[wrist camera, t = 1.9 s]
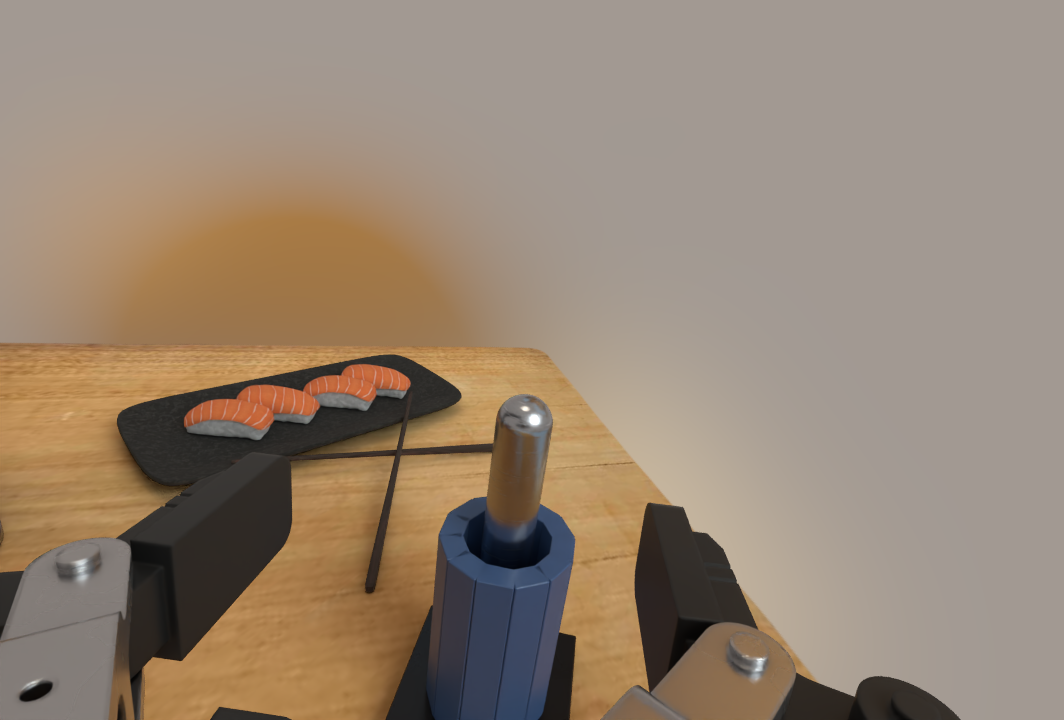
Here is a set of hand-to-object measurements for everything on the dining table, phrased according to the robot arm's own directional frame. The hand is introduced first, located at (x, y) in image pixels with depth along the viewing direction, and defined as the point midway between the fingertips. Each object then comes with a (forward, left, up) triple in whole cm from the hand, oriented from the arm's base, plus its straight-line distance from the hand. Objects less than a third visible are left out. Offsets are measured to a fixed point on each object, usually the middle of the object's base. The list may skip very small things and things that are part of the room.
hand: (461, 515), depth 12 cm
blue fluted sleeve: (-6, +9, -19) cm, 22 cm away
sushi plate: (-31, +15, -20) cm, 40 cm away
